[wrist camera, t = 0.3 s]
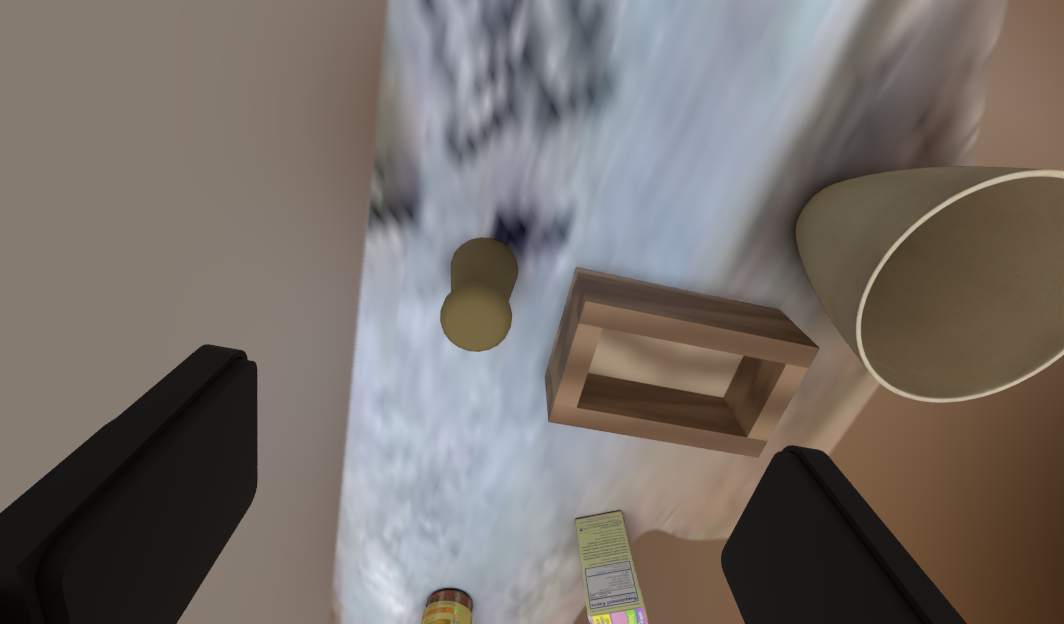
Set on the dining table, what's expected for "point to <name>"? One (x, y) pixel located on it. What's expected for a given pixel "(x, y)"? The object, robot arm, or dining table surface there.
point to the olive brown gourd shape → (479, 295)
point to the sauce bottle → (448, 608)
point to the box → (609, 571)
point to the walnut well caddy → (673, 364)
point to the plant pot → (942, 275)
